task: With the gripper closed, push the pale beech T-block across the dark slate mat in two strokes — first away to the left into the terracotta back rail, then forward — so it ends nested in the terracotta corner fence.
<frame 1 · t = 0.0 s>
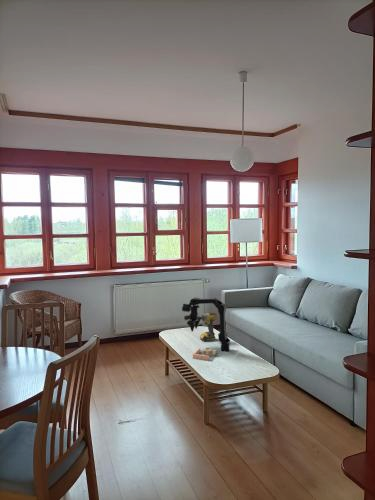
hand: (194, 330, 321), 15 cm above the table, fingers open, 9 cm apart
t block: (209, 354, 302), point 1 cm above the table, touching slate mat
corner fence: (194, 357, 295), resting on slate mat
cordless drill: (205, 340, 340), on the table
slate mat: (205, 356, 300), on the table
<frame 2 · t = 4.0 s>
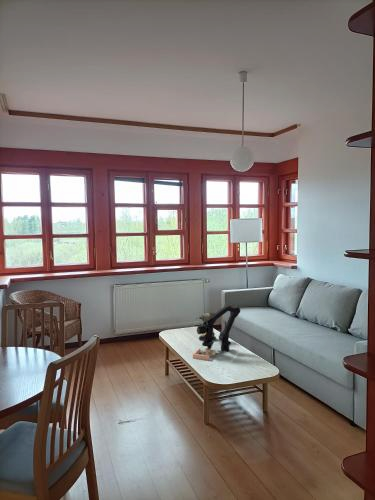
hand: (209, 351, 307), 2 cm above the table, fingers closed
t block: (209, 355, 301), point 1 cm above the table, touching gripper, slate mat
everything else where it was.
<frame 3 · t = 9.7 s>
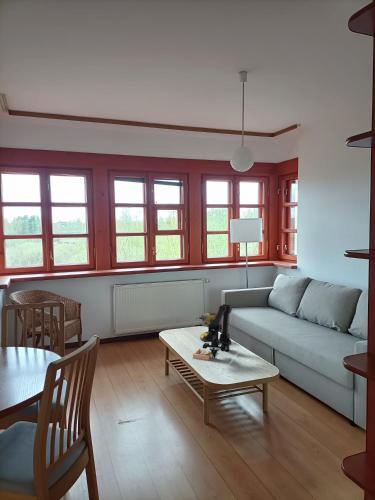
hand: (214, 357, 293), 2 cm above the table, fingers closed
t block: (206, 357, 296), point 1 cm above the table, touching gripper
everything else where it was.
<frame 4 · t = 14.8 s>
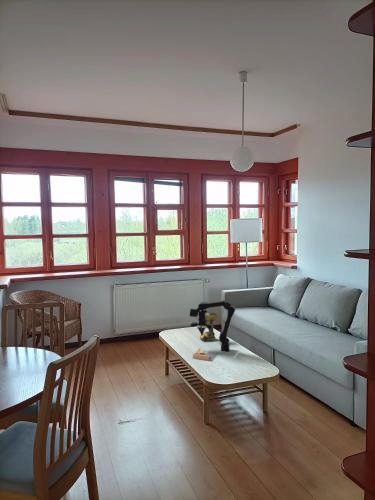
hand: (202, 335, 315), 12 cm above the table, fingers closed
t block: (201, 356, 298), point 1 cm above the table, touching slate mat
everything else where it was.
at the end: t block 0.4 cm from the target spot, point 0.6 cm above the table; t block tilted 0° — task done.
